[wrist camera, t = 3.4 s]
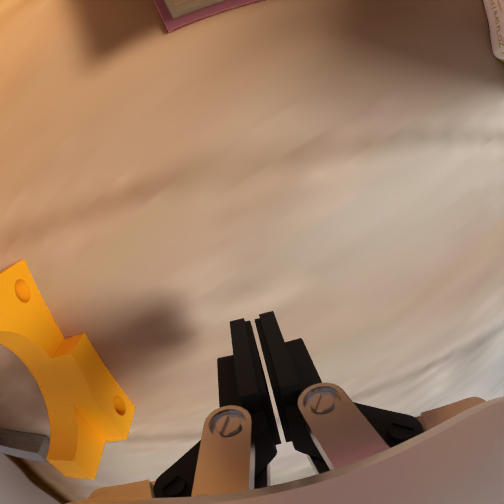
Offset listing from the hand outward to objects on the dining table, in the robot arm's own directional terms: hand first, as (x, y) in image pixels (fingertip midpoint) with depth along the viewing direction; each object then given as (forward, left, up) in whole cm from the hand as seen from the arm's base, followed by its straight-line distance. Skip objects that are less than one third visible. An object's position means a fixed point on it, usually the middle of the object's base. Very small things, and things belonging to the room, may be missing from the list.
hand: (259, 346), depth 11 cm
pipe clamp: (-1, +12, -5) cm, 13 cm away
